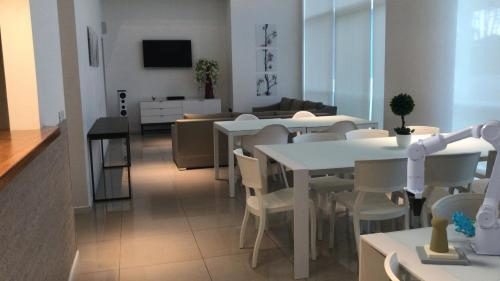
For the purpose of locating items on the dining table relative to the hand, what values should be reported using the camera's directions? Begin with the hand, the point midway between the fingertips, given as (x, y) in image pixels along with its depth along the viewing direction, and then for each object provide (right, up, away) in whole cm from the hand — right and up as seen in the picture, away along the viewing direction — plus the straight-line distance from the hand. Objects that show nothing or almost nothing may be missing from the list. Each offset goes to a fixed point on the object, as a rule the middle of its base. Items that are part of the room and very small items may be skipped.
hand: (415, 212), depth 171 cm
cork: (+3, -10, -14) cm, 18 cm away
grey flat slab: (+3, -12, -14) cm, 19 cm away
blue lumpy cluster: (+21, -9, +7) cm, 24 cm away
